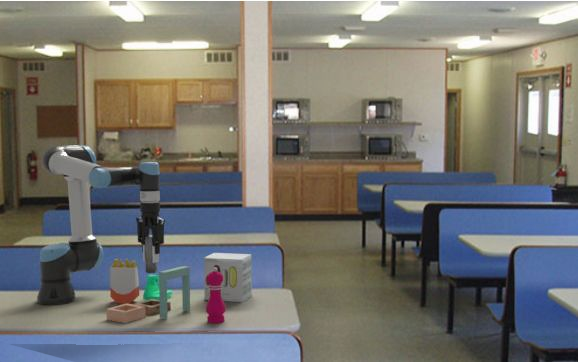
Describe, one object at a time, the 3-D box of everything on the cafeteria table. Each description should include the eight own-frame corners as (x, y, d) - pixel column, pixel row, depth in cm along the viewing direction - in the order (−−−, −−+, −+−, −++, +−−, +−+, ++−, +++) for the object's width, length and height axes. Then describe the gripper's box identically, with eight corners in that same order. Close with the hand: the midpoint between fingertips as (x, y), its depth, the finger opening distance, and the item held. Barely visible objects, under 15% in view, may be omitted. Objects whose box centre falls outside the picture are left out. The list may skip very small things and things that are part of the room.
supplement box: (203, 300, 279) (202, 257, 278) (214, 293, 292) (213, 252, 291) (243, 302, 275) (242, 259, 274) (252, 295, 288) (252, 253, 287)
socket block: (133, 311, 262) (133, 304, 262) (152, 306, 270) (152, 298, 270) (152, 315, 257) (152, 307, 256) (170, 309, 265) (170, 302, 265)
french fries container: (114, 300, 281) (113, 257, 280) (139, 300, 280) (138, 257, 279) (110, 302, 277) (109, 259, 276) (135, 303, 275) (134, 259, 274)
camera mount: (160, 303, 276) (159, 278, 276) (143, 302, 279) (142, 277, 278) (172, 296, 288) (172, 272, 287) (156, 295, 290) (156, 271, 289)
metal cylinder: (143, 272, 262) (142, 236, 261) (151, 270, 266) (150, 235, 265) (151, 273, 260) (150, 237, 259) (159, 271, 263) (158, 236, 262)
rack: (106, 319, 251) (106, 308, 251) (126, 313, 259) (126, 303, 259) (125, 323, 245) (125, 312, 245) (145, 317, 254) (145, 306, 253)
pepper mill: (206, 318, 251) (205, 265, 250) (225, 318, 251) (225, 265, 250) (205, 324, 244) (204, 269, 242) (225, 323, 244) (224, 268, 243)
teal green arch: (159, 317, 252) (158, 271, 251) (184, 309, 263) (183, 266, 262) (165, 318, 250) (164, 272, 249) (190, 310, 262) (189, 266, 260)
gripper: (127, 201, 263) (128, 260, 264) (159, 203, 253) (160, 265, 254) (141, 200, 269) (142, 258, 270) (173, 202, 259) (174, 262, 261)
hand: (151, 261), depth 262 cm, fingers closed on metal cylinder, 4 cm apart
